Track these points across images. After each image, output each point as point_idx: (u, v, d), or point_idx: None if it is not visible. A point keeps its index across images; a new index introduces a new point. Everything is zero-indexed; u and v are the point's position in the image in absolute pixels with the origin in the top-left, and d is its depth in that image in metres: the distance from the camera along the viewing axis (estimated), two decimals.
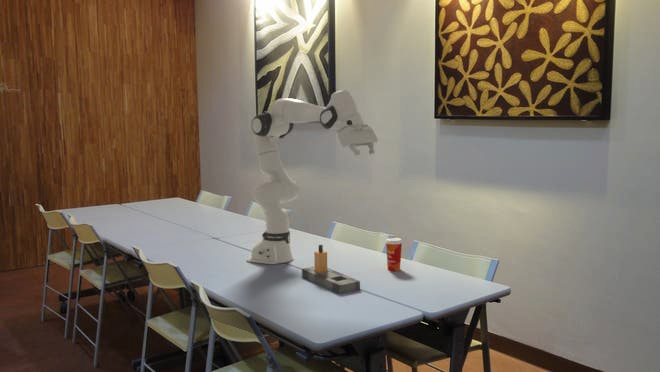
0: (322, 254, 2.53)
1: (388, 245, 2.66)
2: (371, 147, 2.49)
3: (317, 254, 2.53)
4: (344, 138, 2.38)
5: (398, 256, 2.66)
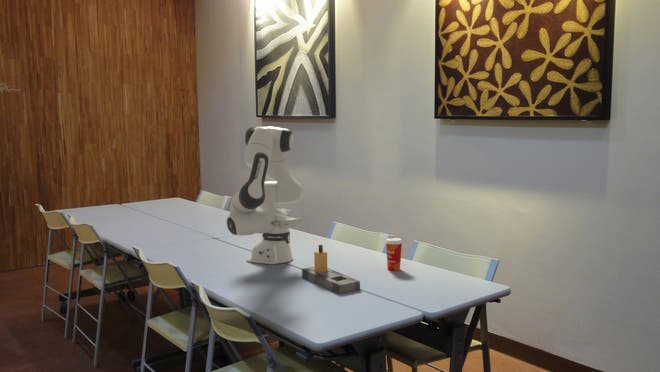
0: (322, 254, 2.53)
1: (388, 245, 2.66)
2: None
3: (317, 254, 2.53)
4: None
5: (398, 256, 2.66)
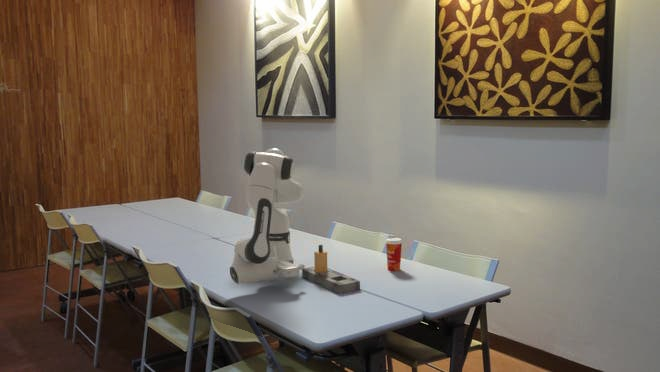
0: (322, 254, 2.53)
1: (388, 245, 2.66)
2: None
3: (317, 254, 2.53)
4: None
5: (398, 256, 2.66)
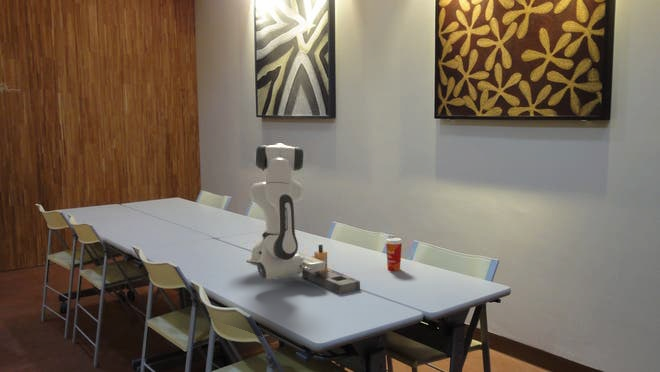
0: (322, 254, 2.53)
1: (388, 245, 2.66)
2: None
3: (317, 254, 2.53)
4: None
5: (398, 256, 2.66)
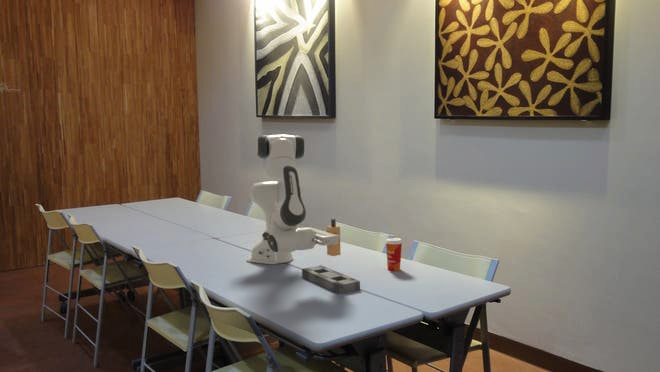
0: (335, 228, 2.42)
1: (388, 245, 2.66)
2: None
3: (330, 228, 2.42)
4: None
5: (398, 256, 2.66)
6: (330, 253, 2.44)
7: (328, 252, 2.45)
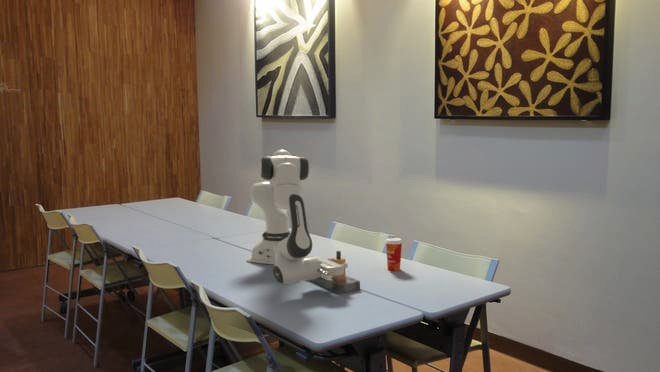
0: (340, 261, 2.41)
1: (388, 245, 2.66)
2: None
3: (335, 261, 2.41)
4: None
5: (398, 256, 2.66)
6: None
7: None
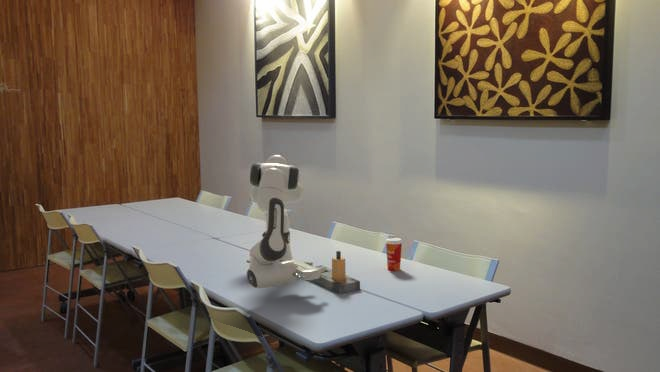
0: (340, 261, 2.41)
1: (388, 245, 2.66)
2: None
3: (335, 261, 2.41)
4: None
5: (398, 256, 2.66)
6: None
7: None
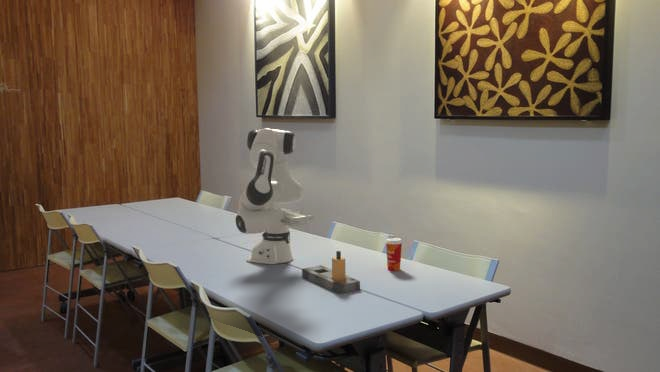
0: (340, 261, 2.41)
1: (388, 245, 2.66)
2: None
3: (335, 261, 2.41)
4: None
5: (398, 256, 2.66)
6: None
7: None
